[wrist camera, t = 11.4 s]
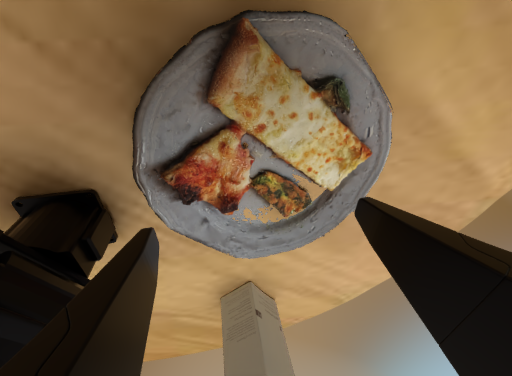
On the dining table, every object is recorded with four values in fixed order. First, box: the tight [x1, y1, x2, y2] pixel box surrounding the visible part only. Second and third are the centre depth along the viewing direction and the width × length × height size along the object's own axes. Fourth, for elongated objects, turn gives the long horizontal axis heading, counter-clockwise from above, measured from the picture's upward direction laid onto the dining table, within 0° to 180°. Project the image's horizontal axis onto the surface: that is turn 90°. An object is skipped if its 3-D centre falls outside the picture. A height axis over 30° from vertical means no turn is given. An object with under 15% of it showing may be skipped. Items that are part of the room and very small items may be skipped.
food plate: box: [132, 10, 392, 259], centre depth 22 cm, size 25×23×4 cm
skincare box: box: [221, 282, 295, 376], centre depth 30 cm, size 8×6×15 cm
